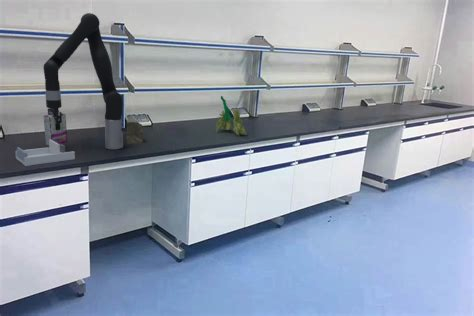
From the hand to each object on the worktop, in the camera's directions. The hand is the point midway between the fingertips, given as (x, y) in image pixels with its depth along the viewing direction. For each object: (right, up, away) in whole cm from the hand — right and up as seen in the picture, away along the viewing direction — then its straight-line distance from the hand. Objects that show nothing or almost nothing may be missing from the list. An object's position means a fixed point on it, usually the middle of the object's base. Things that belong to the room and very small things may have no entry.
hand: (55, 128), depth 221 cm
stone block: (+33, -6, +34) cm, 48 cm away
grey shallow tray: (+1, -16, -14) cm, 22 cm away
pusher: (+6, -14, -10) cm, 19 cm away
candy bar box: (0, -8, +2) cm, 9 cm away
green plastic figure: (+94, +1, +77) cm, 121 cm away
